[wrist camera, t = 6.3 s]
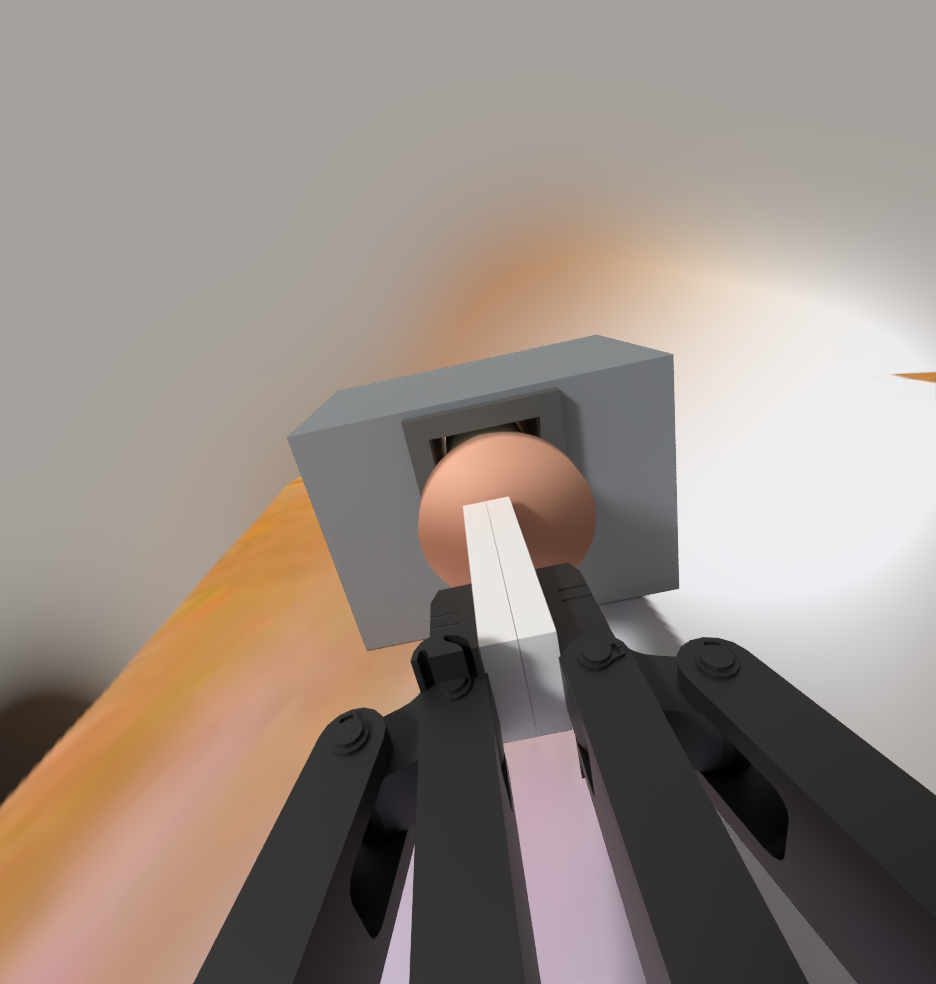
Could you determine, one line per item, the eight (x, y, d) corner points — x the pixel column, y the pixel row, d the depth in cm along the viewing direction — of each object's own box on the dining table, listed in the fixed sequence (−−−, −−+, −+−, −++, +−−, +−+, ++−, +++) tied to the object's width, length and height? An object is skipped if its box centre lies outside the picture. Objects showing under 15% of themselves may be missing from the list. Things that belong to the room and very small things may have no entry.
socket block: (388, 550, 33) (337, 391, 28) (611, 504, 32) (596, 334, 28) (364, 659, 23) (282, 441, 18) (685, 595, 22) (680, 355, 18)
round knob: (441, 481, 29) (418, 387, 27) (535, 462, 29) (520, 365, 26) (440, 616, 17) (397, 464, 14) (603, 583, 17) (587, 423, 14)
